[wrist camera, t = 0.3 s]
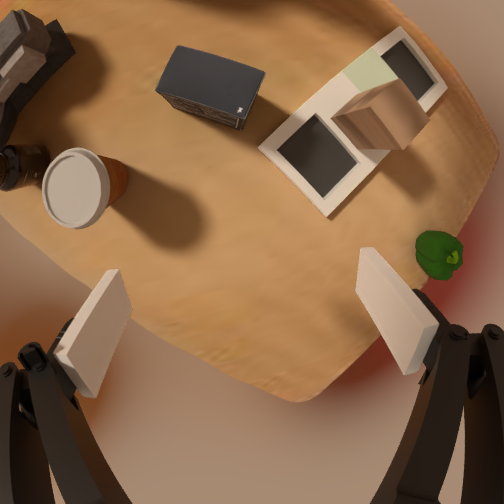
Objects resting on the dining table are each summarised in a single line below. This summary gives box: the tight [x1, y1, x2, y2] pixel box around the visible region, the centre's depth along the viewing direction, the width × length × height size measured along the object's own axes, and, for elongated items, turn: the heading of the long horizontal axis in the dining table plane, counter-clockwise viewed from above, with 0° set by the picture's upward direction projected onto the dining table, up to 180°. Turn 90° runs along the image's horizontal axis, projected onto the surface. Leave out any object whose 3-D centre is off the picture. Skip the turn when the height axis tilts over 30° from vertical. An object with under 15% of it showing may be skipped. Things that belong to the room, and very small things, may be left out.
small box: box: [155, 45, 266, 130], centre depth 29 cm, size 11×6×10 cm, turn 68°
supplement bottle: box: [0, 144, 50, 192], centre depth 28 cm, size 7×7×12 cm
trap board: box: [257, 26, 448, 217], centre depth 35 cm, size 35×14×2 cm, turn 136°
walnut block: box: [330, 78, 430, 150], centre depth 30 cm, size 6×6×12 cm
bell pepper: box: [415, 230, 463, 280], centre depth 40 cm, size 8×8×10 cm
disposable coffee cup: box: [42, 148, 128, 229], centre depth 31 cm, size 10×10×12 cm
